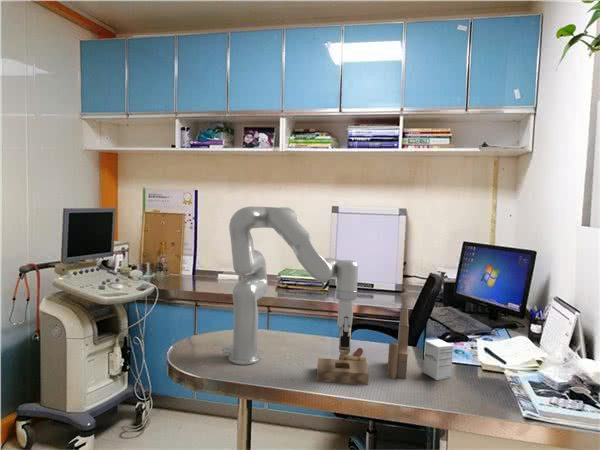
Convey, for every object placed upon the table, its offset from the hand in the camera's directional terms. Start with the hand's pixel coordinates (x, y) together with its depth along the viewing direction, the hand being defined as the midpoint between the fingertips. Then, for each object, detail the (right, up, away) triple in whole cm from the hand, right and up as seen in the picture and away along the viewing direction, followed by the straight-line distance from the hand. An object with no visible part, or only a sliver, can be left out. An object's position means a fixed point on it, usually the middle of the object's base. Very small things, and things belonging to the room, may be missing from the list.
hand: (344, 344), depth 151 cm
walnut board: (-1, -12, +1) cm, 12 cm away
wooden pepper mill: (0, -4, 0) cm, 4 cm away
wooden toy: (+21, -13, +8) cm, 25 cm away
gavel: (+7, -12, +19) cm, 23 cm away
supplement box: (+35, -14, +6) cm, 38 cm away
